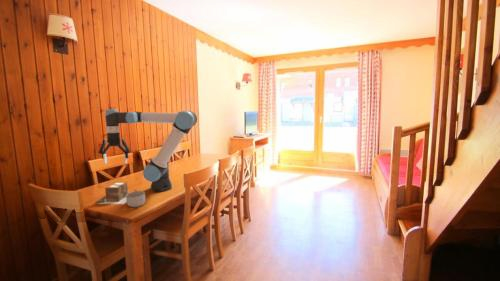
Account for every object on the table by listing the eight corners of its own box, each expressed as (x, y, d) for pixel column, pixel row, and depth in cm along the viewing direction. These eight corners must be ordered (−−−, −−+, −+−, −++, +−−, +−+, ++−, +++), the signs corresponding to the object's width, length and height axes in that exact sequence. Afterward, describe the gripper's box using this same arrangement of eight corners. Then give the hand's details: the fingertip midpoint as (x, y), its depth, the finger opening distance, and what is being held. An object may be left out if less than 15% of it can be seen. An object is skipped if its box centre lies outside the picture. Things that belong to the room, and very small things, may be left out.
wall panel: (138, 193, 178) (138, 191, 178) (124, 204, 158) (123, 201, 158) (113, 193, 178) (112, 191, 178) (95, 204, 158) (95, 201, 158)
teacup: (143, 208, 152) (143, 195, 151) (124, 210, 150) (123, 197, 149) (148, 200, 166) (147, 188, 165) (130, 201, 164) (129, 189, 163)
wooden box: (116, 195, 174) (115, 182, 173) (127, 195, 174) (126, 182, 173) (106, 201, 162) (105, 187, 161) (118, 201, 162) (117, 187, 161)
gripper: (90, 133, 165) (93, 165, 168) (129, 132, 167) (132, 164, 169) (97, 132, 173) (99, 162, 176) (134, 131, 174) (136, 161, 177)
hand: (115, 163), depth 173 cm, fingers open, 13 cm apart
